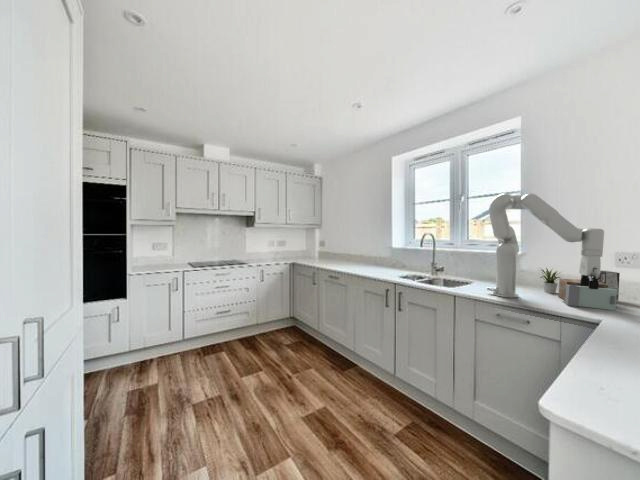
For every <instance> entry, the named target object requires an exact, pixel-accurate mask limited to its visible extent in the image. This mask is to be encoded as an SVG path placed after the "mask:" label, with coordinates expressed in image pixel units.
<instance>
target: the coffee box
mask: <svg viewBox="0 0 640 480" xmlns="http://www.w3.org/2000/svg"><path fill="white" fill-rule="evenodd" d="M599 282H602V283H604V284H607V285H608V289H615V290H617V297H616V303H619V295H620V293H619V292H620V272H616V271H609V270H600V276H599Z"/></svg>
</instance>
